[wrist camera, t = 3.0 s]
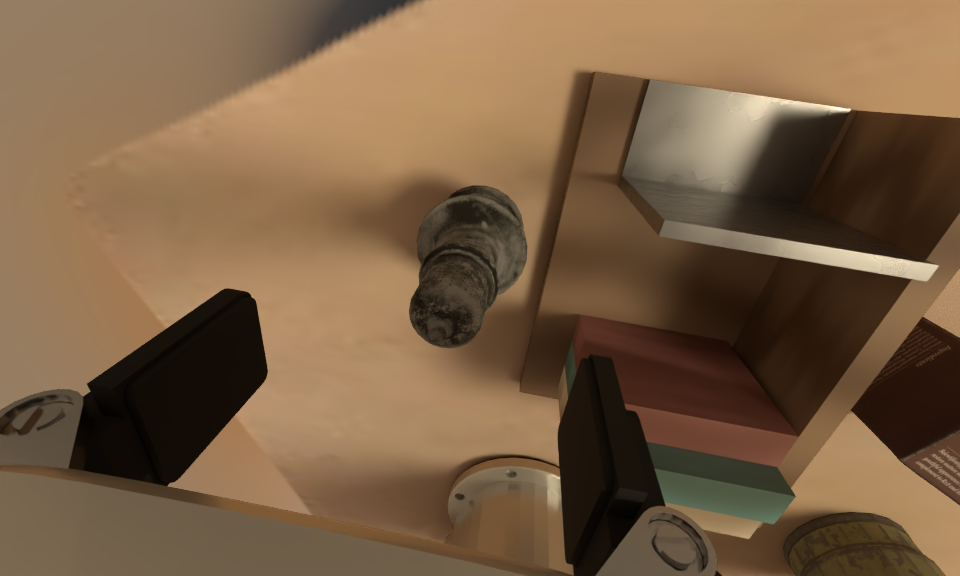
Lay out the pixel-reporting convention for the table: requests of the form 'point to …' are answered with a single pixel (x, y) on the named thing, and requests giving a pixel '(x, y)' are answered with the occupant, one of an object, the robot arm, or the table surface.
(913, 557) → the robed figure statue
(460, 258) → the dark grey chess piece
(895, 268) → the bookend
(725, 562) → the table surface
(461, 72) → the table surface
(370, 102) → the table surface
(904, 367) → the box
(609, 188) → the shelf
